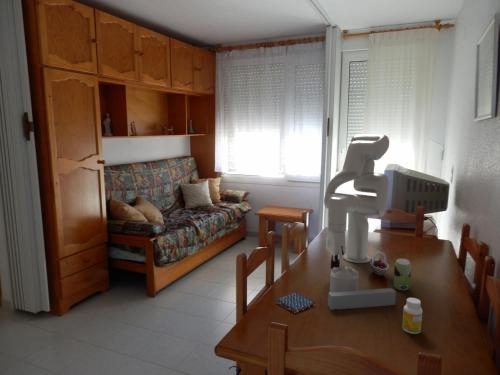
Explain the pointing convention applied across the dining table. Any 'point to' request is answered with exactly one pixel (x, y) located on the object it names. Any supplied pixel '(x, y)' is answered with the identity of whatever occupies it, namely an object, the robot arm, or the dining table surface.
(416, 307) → the supplement bottle
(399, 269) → the beverage can
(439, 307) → the dining table surface
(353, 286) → the lumpy-topped squat cylinder
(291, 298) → the woven mat
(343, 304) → the grey long bar
